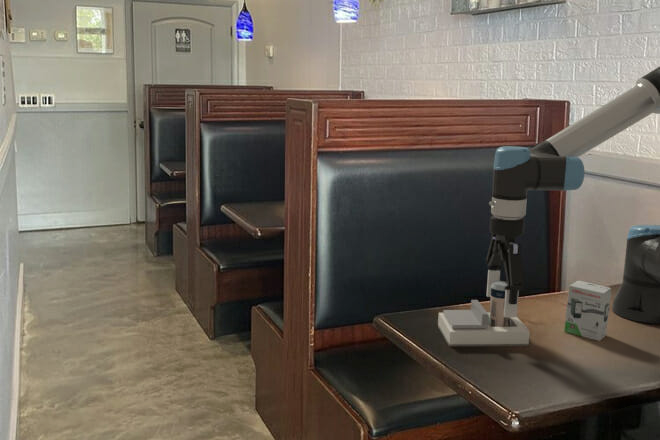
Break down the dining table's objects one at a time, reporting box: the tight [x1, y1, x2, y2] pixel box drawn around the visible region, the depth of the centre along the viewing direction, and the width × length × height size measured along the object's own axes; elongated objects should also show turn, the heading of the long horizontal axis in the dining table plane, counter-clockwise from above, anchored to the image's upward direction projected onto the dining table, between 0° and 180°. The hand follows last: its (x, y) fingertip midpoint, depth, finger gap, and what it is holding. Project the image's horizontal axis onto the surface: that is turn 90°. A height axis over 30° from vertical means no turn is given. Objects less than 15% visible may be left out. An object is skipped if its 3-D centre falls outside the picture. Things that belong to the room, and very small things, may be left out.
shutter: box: [442, 299, 489, 328], centre depth 158 cm, size 8×10×3 cm
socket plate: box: [437, 311, 531, 347], centre depth 160 cm, size 18×12×4 cm, turn 93°
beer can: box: [489, 280, 510, 327], centre depth 159 cm, size 5×5×12 cm
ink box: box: [563, 280, 612, 342], centre depth 161 cm, size 9×5×12 cm, turn 50°
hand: (500, 306), depth 159 cm, fingers open, 13 cm apart
